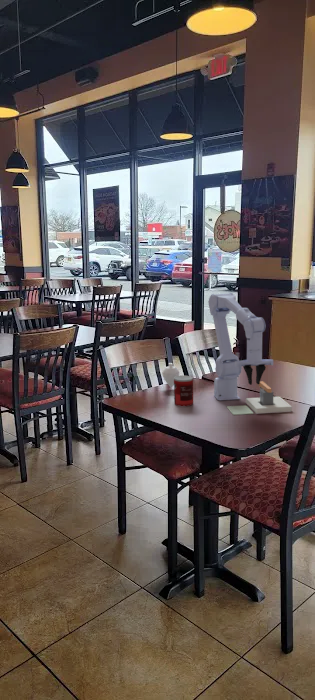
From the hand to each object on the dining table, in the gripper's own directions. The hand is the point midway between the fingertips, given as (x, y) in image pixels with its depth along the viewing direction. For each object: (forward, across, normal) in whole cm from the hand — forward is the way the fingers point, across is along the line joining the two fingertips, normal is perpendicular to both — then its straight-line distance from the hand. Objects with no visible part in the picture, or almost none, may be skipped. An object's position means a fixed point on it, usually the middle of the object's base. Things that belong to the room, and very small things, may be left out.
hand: (254, 383), depth 199 cm
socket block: (+10, +6, +2) cm, 12 cm away
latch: (+3, +5, +3) cm, 7 cm away
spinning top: (+11, -28, +36) cm, 47 cm away
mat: (+10, -6, 0) cm, 12 cm away
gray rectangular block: (+10, +6, +1) cm, 12 cm away
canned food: (+11, -26, +13) cm, 31 cm away
